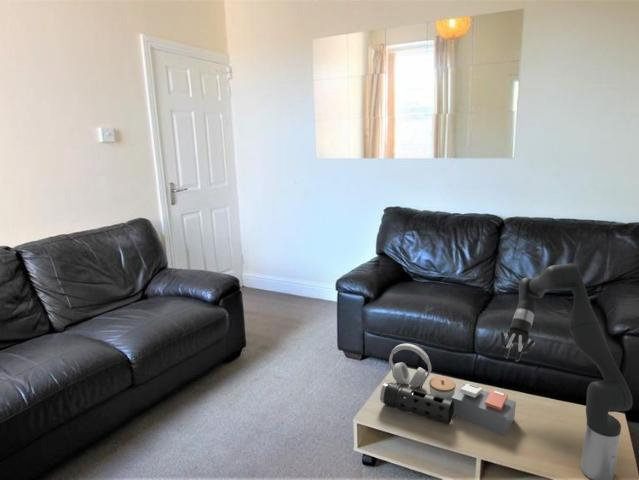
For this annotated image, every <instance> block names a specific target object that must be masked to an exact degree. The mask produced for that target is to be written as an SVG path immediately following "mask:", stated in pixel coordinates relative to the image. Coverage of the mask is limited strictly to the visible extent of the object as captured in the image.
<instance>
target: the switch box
mask: <svg viewBox="0 0 639 480" xmlns="http://www.w3.org/2000/svg"><path fill="white" fill-rule="evenodd" d="M465 385H466V383H463V384H462V385H461V386H460V387H459V388H458V389H457V391H455V393H454V395H453V396H452V399H451V401H453V402H454V411H453V416H452V417H456V418H458V419H461V420H463V421H466V422H468V423H471V424H473V425H476V426H478V427H480V428H483V429H485V430H488V431H490V432H491V431H492V432H493V433H496V434H499V435H500V436H503V437H505V436H506V434H507V433H508V431H509V429H510V428H511V426H512V425H513V423H514V421H515V417H516V406H517V401H514V400H512V399H510V398H507V400H506V402H505V404H504V406H503V408H502V410H501V411H500V410H497V409H494V408H491V407H489V406H486V405H485V401H486V399H487V398H488V396H489V394H490V392H488V391H485V390H483V389H482V393H480V394H479V395H478V396H477V397H475V398H474V397H472V396H469V395H466V394H463V393H460V390H461V388H462V387H464V386H465Z"/></svg>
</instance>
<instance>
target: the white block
mask: <svg viewBox="0 0 639 480" xmlns="http://www.w3.org/2000/svg"><path fill="white" fill-rule="evenodd" d="M482 390H483V388H482V387H480V386H477V385H473V384H472V383H465V386H464V387H462V388H461V390H460V393H463V394H466V395H469V396H472V397H474V398H475V397H477V396H478V395H479V394H480V393H482Z"/></svg>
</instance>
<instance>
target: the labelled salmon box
mask: <svg viewBox="0 0 639 480" xmlns="http://www.w3.org/2000/svg"><path fill="white" fill-rule="evenodd" d="M489 393H490V394H489V396H488V398H487V399H486V401H485V405H486V406H489V407H491V408H494V409H497V410H500V411H501V410H502V408H503V406H504V404H505V402H506V400H507V399H509V393H507V392H502V391H500V390H497V389H495V388H492V389H491V390H490V392H489Z"/></svg>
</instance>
